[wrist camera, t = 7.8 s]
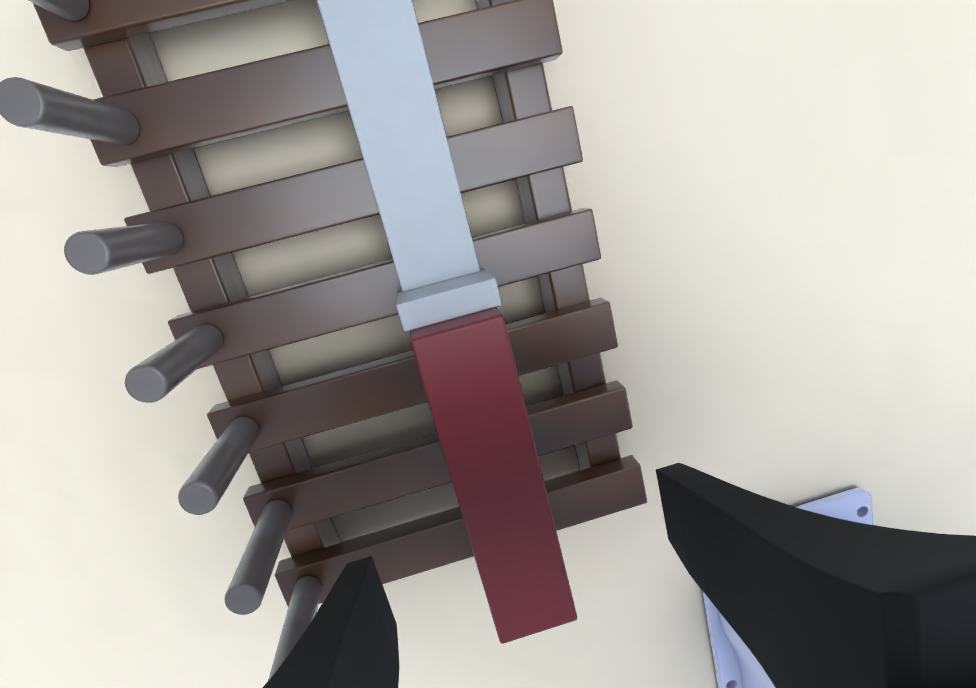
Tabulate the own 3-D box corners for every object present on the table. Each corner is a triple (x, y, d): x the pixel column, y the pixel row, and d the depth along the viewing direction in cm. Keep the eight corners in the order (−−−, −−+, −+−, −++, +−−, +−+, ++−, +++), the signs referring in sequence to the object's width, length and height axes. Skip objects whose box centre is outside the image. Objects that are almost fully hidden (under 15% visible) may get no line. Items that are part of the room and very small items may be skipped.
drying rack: (620, 471, 23) (709, 585, 16) (305, 566, 22) (262, 729, 15) (507, -93, 17) (572, -273, 11) (78, 2, 16) (-146, -130, 10)
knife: (557, 559, 20) (582, 619, 17) (482, 582, 20) (495, 647, 17) (368, -204, 14) (359, -309, 11) (255, -181, 14) (215, -280, 11)
